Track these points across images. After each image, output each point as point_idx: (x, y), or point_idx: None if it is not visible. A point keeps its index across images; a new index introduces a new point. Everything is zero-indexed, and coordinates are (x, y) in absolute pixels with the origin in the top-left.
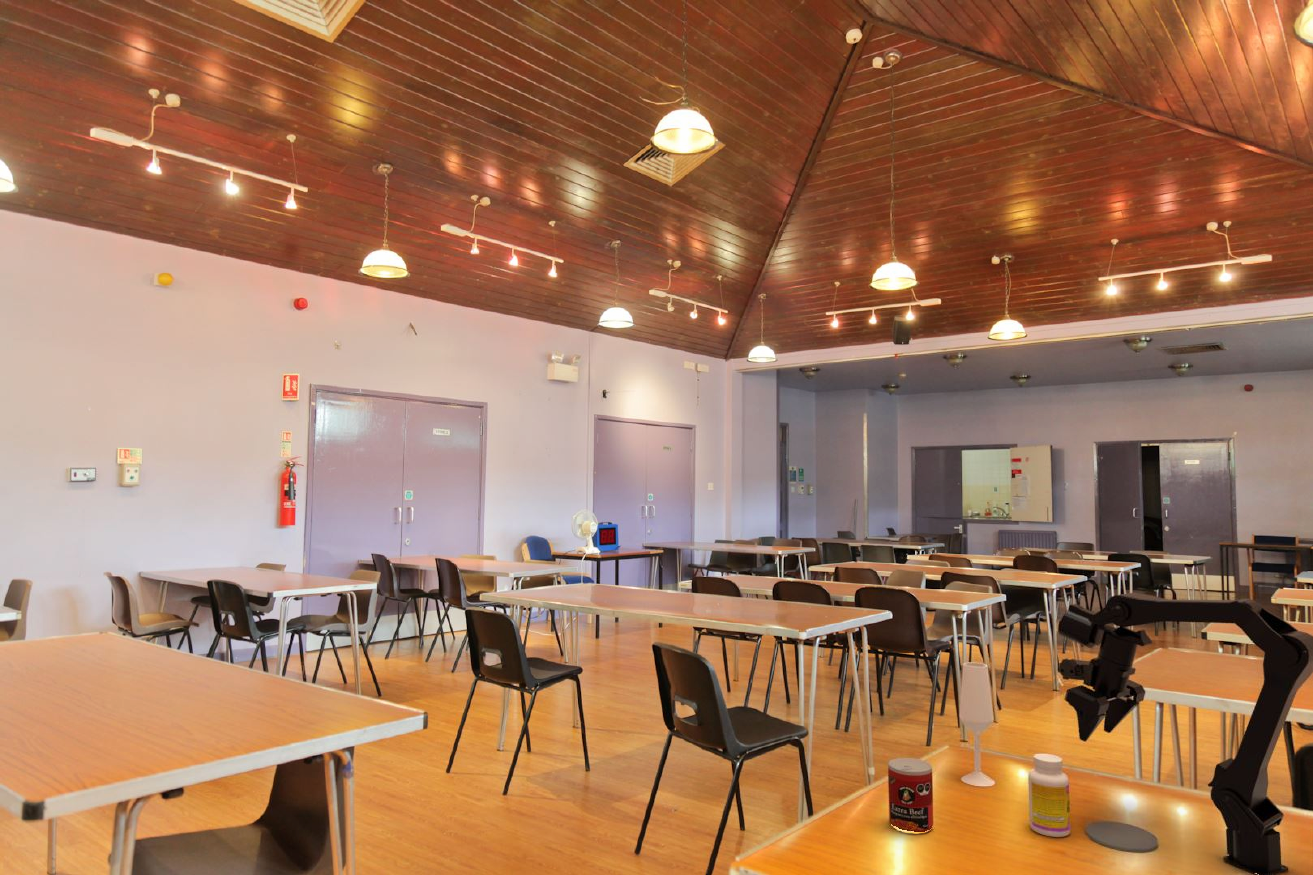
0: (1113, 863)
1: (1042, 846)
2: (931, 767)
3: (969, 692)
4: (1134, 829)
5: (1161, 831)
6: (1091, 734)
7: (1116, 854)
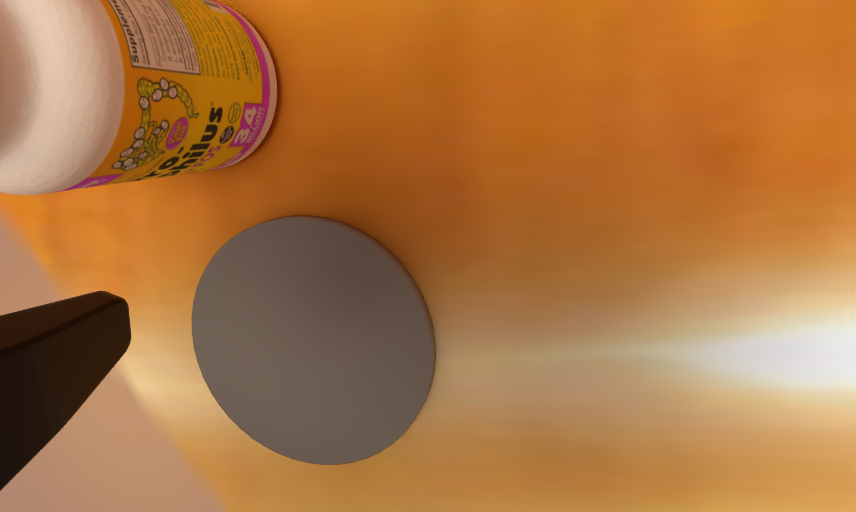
0: None
1: None
2: None
3: None
4: (383, 391)
5: (487, 473)
6: (35, 447)
7: (165, 332)
